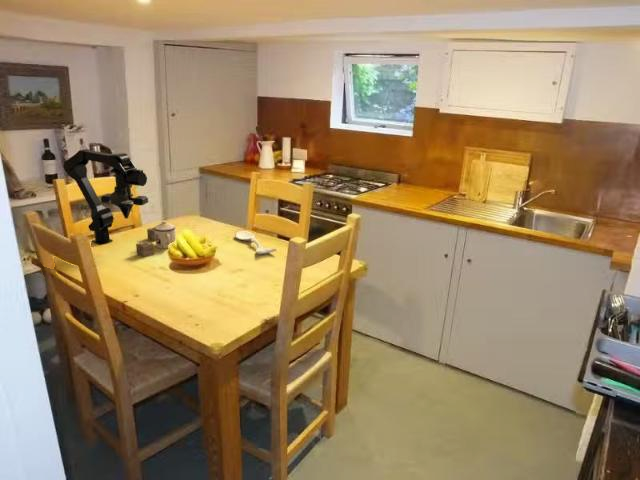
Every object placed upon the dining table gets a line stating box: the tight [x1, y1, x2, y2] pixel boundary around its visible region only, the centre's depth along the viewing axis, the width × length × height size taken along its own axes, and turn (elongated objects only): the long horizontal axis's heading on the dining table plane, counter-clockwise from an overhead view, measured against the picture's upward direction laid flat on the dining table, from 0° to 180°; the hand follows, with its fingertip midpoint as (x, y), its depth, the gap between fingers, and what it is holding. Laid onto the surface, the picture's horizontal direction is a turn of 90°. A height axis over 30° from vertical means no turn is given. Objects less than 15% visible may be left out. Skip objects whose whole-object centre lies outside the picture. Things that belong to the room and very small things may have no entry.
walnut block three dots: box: [146, 226, 156, 242], centre depth 217 cm, size 5×5×5 cm
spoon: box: [234, 230, 277, 255], centre depth 215 cm, size 9×32×4 cm, turn 31°
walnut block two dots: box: [135, 240, 155, 259], centre depth 198 cm, size 5×5×5 cm
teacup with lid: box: [154, 220, 176, 250], centre depth 207 cm, size 12×9×12 cm
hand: (126, 218), depth 203 cm, fingers closed
